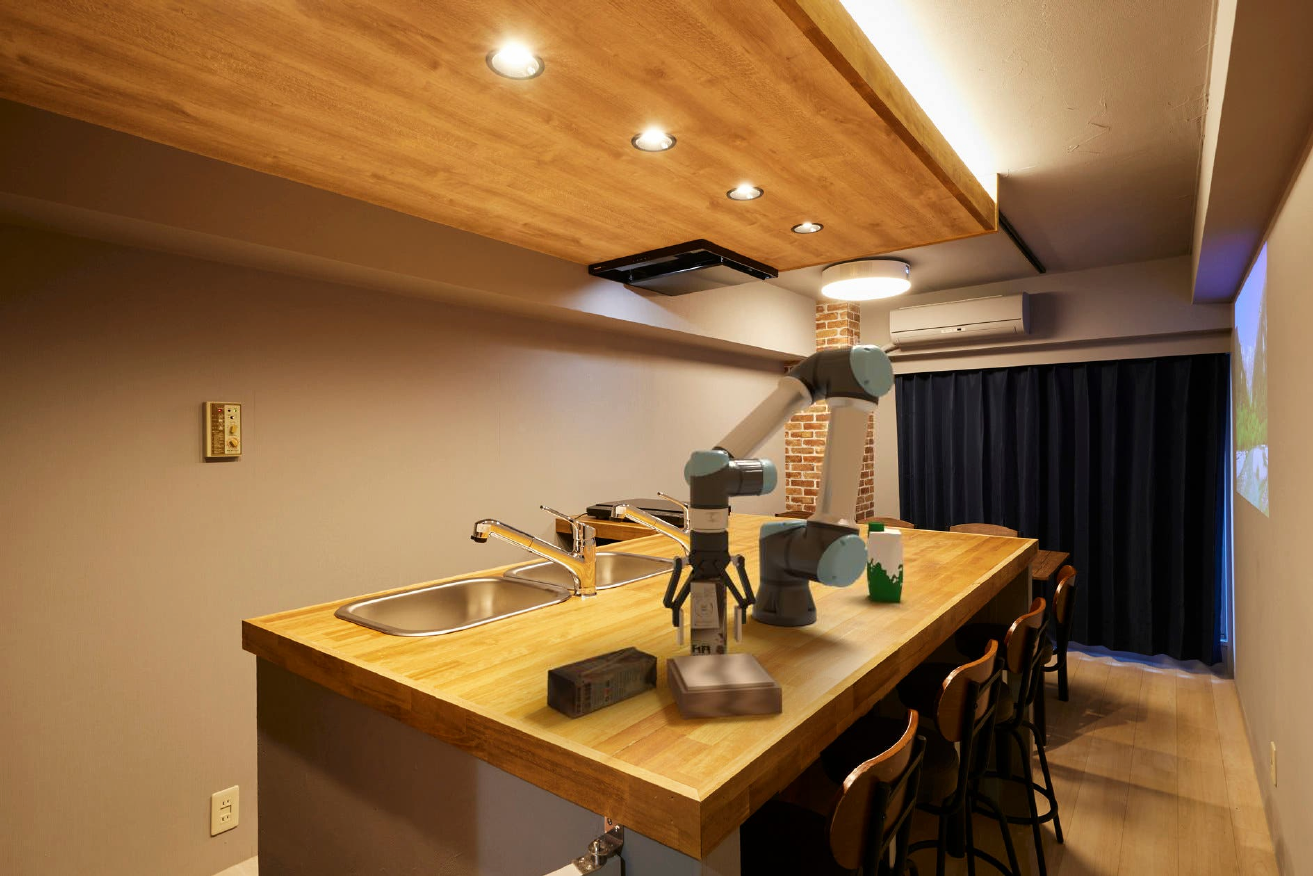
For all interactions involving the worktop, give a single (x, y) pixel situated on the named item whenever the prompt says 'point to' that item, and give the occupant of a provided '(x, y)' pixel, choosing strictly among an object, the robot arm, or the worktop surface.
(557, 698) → the beverage carton
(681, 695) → the shelf riser
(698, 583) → the coffee box
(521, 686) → the worktop surface
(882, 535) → the milk carton
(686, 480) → the robot arm
